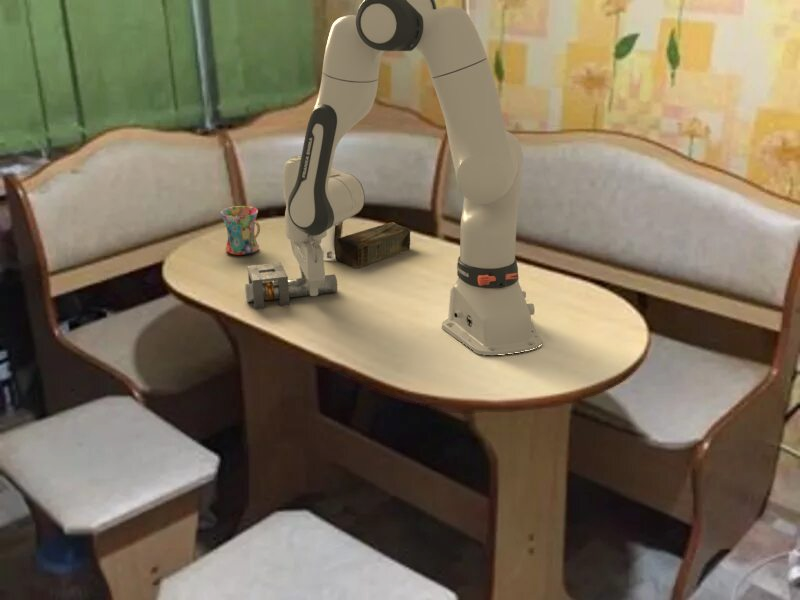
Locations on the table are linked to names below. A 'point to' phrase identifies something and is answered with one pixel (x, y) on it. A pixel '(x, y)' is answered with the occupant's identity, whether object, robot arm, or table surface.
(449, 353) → the table surface
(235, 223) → the mug
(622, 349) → the table surface
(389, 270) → the table surface
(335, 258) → the beer glass
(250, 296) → the tube
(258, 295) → the gray four-legged stand
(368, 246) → the dark wooden box
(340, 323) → the table surface
